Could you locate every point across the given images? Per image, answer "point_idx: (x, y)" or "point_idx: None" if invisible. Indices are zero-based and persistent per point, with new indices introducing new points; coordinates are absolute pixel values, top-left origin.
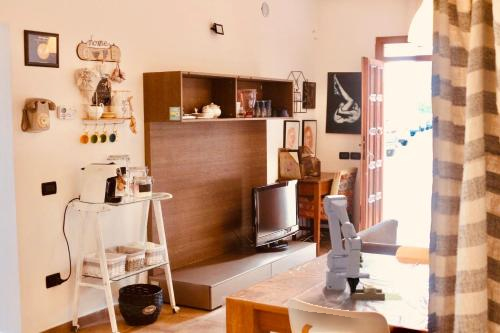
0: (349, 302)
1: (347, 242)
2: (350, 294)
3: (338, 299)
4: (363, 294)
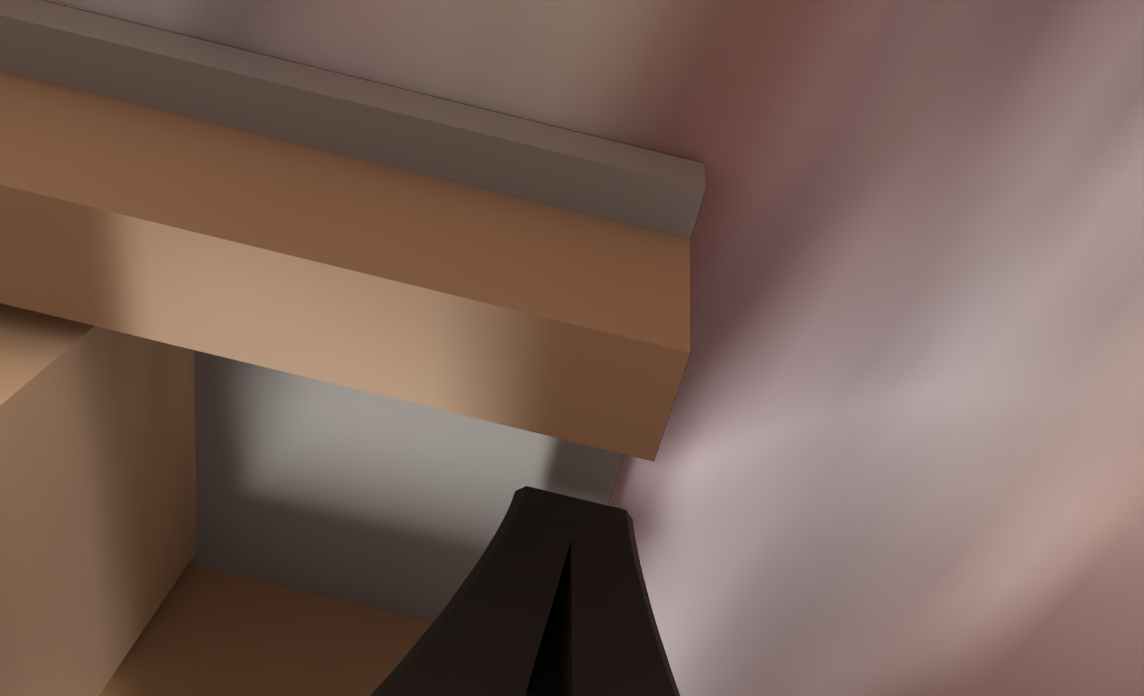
0: (909, 70)
1: None
2: None
3: (1094, 475)
4: (173, 215)
